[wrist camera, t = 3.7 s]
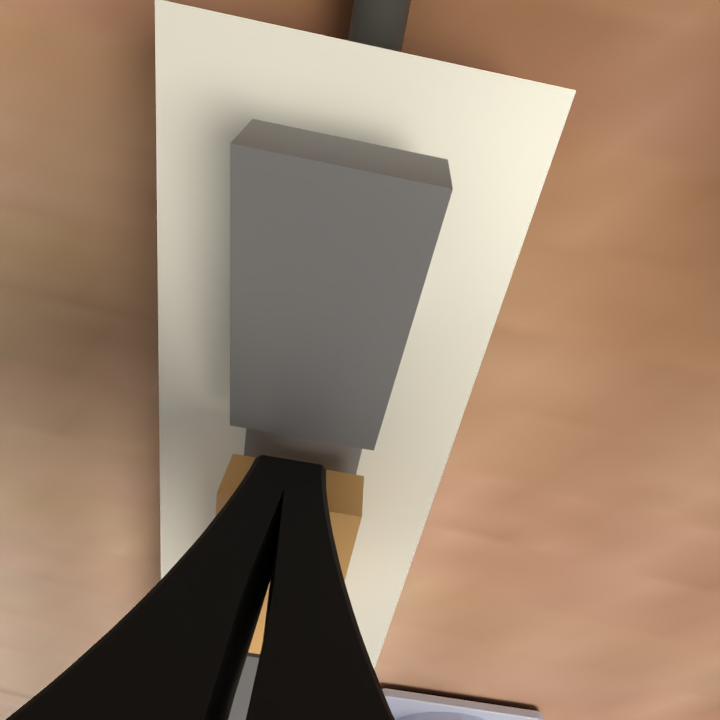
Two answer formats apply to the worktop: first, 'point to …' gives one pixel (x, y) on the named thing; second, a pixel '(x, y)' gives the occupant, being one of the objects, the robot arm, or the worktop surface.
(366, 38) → the rocker switch panel
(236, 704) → the block
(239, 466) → the rocker middle
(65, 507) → the worktop surface
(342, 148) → the block
